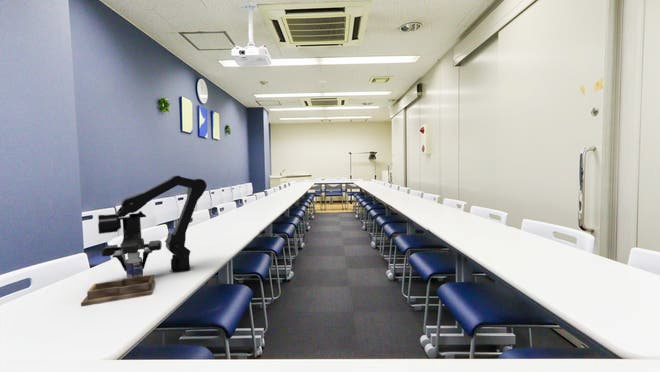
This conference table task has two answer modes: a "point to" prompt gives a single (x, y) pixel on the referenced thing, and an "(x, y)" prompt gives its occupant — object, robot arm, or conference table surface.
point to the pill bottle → (134, 265)
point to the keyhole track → (119, 290)
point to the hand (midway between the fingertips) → (134, 269)
